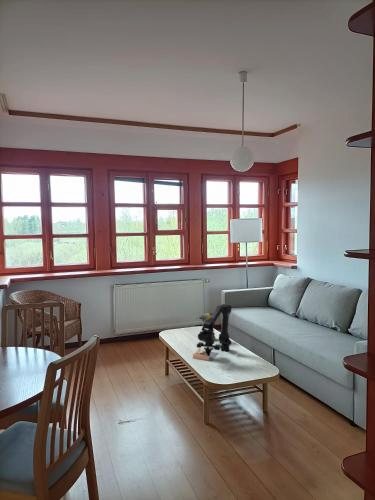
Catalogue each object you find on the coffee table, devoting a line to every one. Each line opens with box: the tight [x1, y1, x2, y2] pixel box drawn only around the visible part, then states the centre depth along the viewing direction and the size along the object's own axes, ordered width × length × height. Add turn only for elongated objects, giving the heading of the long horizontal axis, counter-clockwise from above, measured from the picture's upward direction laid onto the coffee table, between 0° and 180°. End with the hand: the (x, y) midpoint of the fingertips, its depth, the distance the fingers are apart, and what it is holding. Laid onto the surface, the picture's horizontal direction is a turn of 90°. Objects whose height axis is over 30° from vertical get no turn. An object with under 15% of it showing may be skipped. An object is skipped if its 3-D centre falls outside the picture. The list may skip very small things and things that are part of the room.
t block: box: [194, 349, 208, 356], centre depth 297 cm, size 9×8×4 cm
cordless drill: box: [195, 312, 216, 342], centre depth 339 cm, size 9×20×25 cm, turn 111°
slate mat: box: [193, 351, 220, 362], centre depth 300 cm, size 17×19×1 cm
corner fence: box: [192, 348, 209, 361], centre depth 299 cm, size 14×15×3 cm
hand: (208, 356), depth 295 cm, fingers closed
